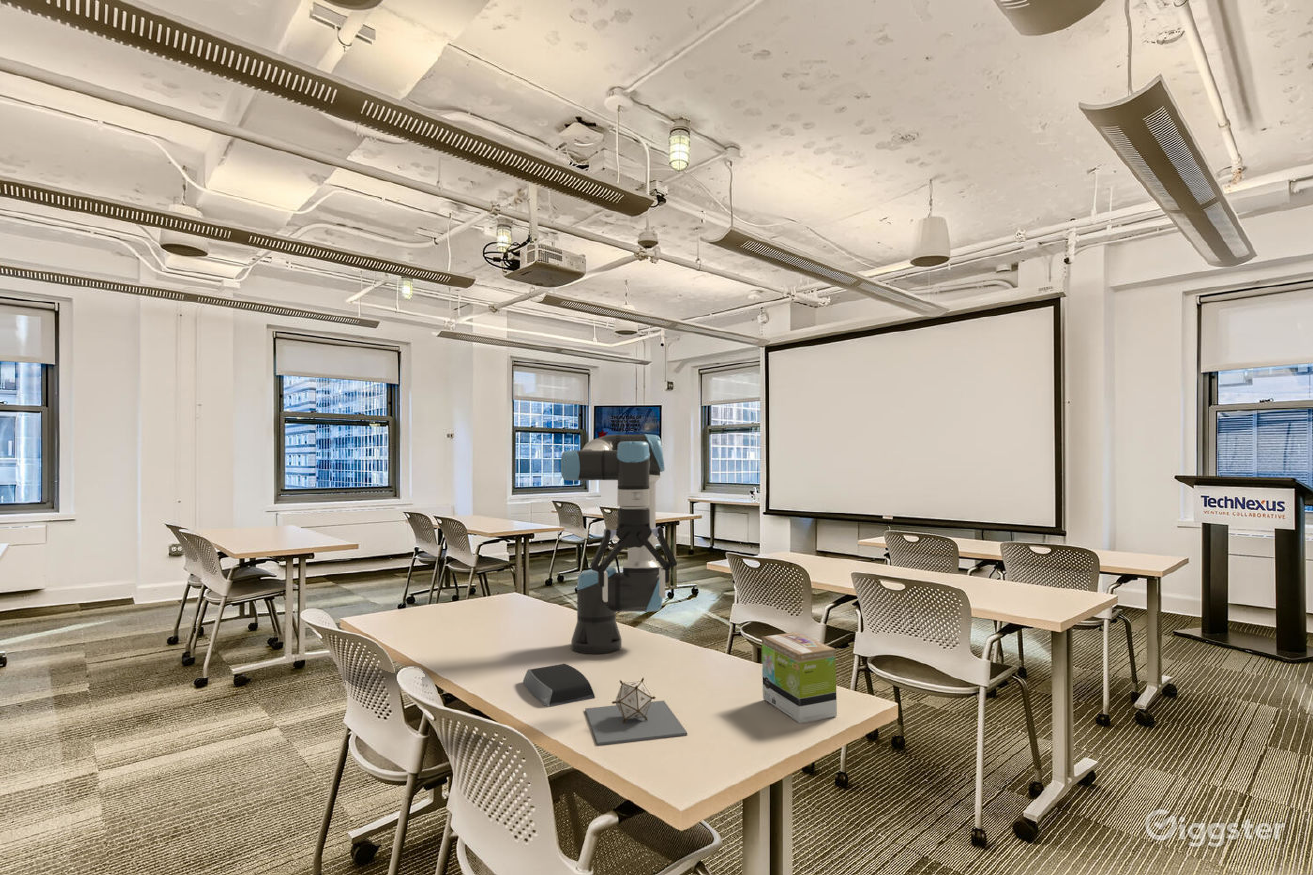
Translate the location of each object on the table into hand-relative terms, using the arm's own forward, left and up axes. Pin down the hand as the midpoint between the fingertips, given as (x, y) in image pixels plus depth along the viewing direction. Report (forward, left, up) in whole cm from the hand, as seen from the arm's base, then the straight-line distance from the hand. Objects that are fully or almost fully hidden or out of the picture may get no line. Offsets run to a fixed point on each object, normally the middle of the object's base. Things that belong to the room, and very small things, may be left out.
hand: (634, 598), depth 143 cm
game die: (+12, -3, -23) cm, 26 cm away
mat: (+12, -3, -23) cm, 26 cm away
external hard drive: (-12, -16, -24) cm, 31 cm away
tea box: (+14, +34, -23) cm, 44 cm away
